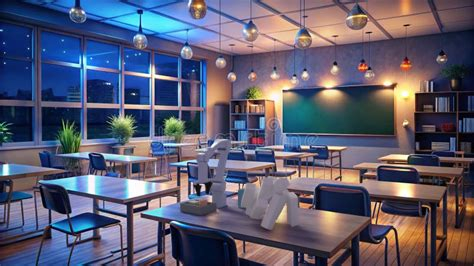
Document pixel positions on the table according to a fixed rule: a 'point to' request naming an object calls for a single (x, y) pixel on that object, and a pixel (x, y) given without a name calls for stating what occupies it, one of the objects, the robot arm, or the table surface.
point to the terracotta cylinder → (202, 202)
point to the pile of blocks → (270, 201)
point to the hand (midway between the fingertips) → (203, 195)
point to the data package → (240, 197)
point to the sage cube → (194, 203)
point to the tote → (198, 208)
